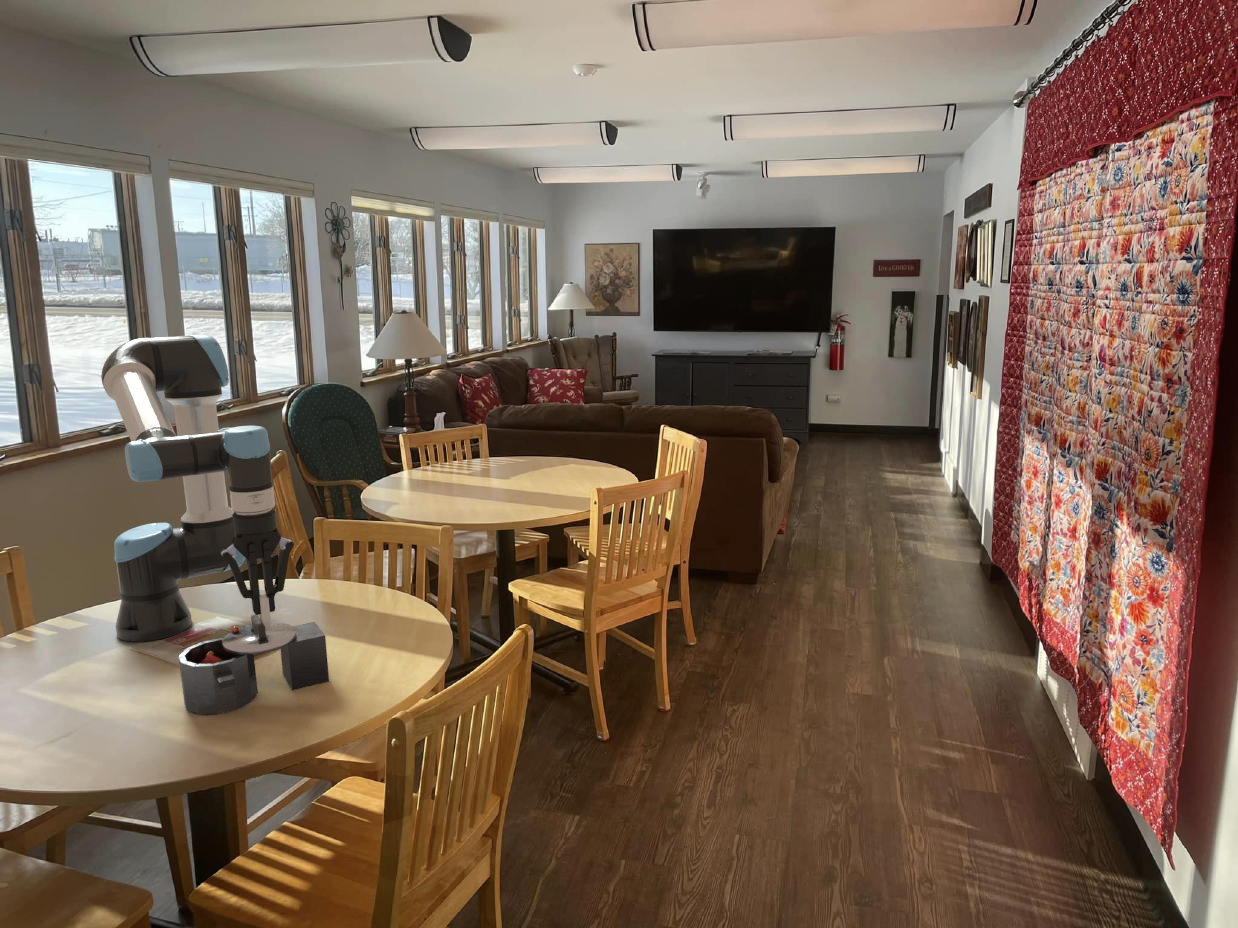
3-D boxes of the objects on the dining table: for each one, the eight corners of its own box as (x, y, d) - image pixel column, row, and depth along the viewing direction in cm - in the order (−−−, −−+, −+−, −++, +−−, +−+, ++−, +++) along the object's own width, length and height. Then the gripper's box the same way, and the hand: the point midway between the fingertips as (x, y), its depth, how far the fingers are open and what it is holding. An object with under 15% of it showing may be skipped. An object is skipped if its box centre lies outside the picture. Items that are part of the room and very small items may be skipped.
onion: (219, 693, 165) (212, 650, 166) (191, 699, 166) (185, 656, 167) (238, 688, 171) (231, 646, 172) (211, 693, 172) (205, 652, 173)
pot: (178, 685, 174) (172, 639, 172) (246, 670, 180) (241, 625, 178) (193, 731, 157) (187, 680, 155) (267, 712, 163) (262, 663, 161)
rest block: (282, 674, 178) (278, 629, 176) (318, 666, 182) (314, 621, 180) (292, 690, 172) (287, 643, 169) (329, 681, 175) (325, 635, 173)
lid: (217, 635, 172) (215, 617, 172) (287, 621, 179) (285, 603, 178) (229, 660, 162) (227, 640, 161) (303, 643, 169) (301, 624, 168)
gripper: (219, 520, 159) (233, 643, 164) (295, 509, 166) (305, 627, 171) (212, 510, 165) (225, 629, 170) (285, 500, 172) (296, 614, 177)
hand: (266, 628), depth 171 cm, fingers closed
